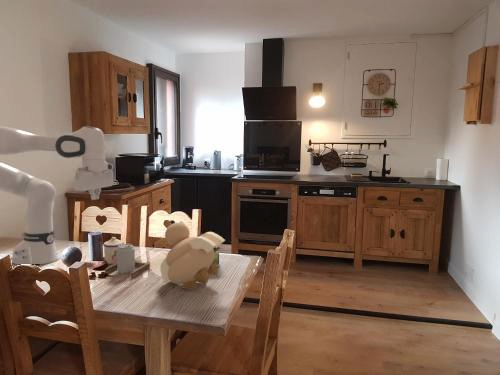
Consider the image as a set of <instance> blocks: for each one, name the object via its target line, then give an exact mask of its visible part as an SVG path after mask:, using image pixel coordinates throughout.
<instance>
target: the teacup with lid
mask: <svg viewBox="0 0 500 375" xmlns="http://www.w3.org/2000/svg"><path fill="white" fill-rule="evenodd" d="M121 244H125V242H124V241H123V240H120V239H117V238H116V237H115V236H112V237H111V239H108V240H107V241H105V242H103V246H104V247H103V250H104V257H103V258H104V261H105V260H106V261H107V262H108V263H107V264H109V265H114V264H116V263H117V249H118V246H119V245H121Z"/></svg>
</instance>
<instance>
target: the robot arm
mask: <svg viewBox="0 0 500 375" xmlns="http://www.w3.org/2000/svg"><path fill="white" fill-rule="evenodd" d="M105 143H106V142H105V135H104V132H103V131H102V130H101V129H100V128H98V127H93V126H88V125H86V126H85V125H84V126H82V127H81V128H80V129H78V130H76V131H73V132H71V133H67V134H63V135H62V136H50V135H41V134H40V135H39V134H35V133H31V132H27V131H25V130H20V129H17V128H14V127H9V126H2V125H0V155H6V156H7V155H18V154H23V153H28V152H38V151H42V152H43V151H45V152H57V154H58V155H59V156H60V157H63V158H66V159H75V158H81V162H82V163H81V167H78V168H77V169H76V170H75V175H74V180H73V190H74V191H75V192H87V191H88V193H89V194H90V199H91V201H96V200H99V199H100V194H101V192H102V188H109V187H112V186H113V185H114V172H113V169H114V164H112V163H109V162H107V161H106V157H105V151H106V150H105V149H106V144H105ZM0 191H3V192H6V193H9V194H12V195H14V196H16V197H19V198H22V199H25V200H27V208H26V213H25V230H26V232H23V233H22V234H21V237H23V240H22V241H20V242H19V243H18V244H16V246H14V247H13V249H12V255H11V256H10V257H11V260H12V263H11V264H15V265H19V264H34V265H33V266H36V265H35V264H40V265H47V264H50V263H53V262H55V261H57V260H59V256H58V255H59V254H58V252H57V248H56V242H55V236H56V235H55V233H56V232H55V230H54V224H53V223H54V220H53V217H54V216H53V215H54V214H53V212H54V207H55V198H56V197H57V189H56V188H55V186H54V185H53V184H52V183H51V182H49V181H48V180H44V179H42V178H39V177H36V176H33V175H31V174H29V173H27V172H24V171H22V170H21V169H17V168H16V167H13V166H11V165H8V164H6V163H3V162H1V161H0ZM19 266H20V265H19Z"/></svg>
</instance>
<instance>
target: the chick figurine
mask: <svg viewBox="0 0 500 375" xmlns="http://www.w3.org/2000/svg"><path fill="white" fill-rule="evenodd" d="M190 233H191V232H190V229H189V227H188V226H187V225H186V224H185V222H184V221H183V220H181V221H179V222H174V223H171V224H170V225H169V226H168V227H167V229H166V230H165V233H164V239H165V241H166V242H167V244H168V245H170V246H172V247H171V248H170V250H168V253H167V255H166V257H165V258H164V259H163V260H162V262H161V263H160V265H159V266H160V268H159V269H160V274H161V279H162V281H163V284H166V283H167V282H169V281H170V282H171V283H173V284H175V285H182V286H181V288H183V289H186V290H189V291H192V292H196V293H197V283H200V284H202V285H203V284H204V285H207V283H208V274H209V275H212V276H215V277H217V276H218V266H217V261H216V262H214V263H213V261H214V257H215V253H214V250H213V248H214V247H216V248H217V247H219V248H220V246H222V244H223V243H224V242H225V241H226V239H224V238H223V237H222V236H219V235H220V234H218V233H215V232H213V231H207V232H205V234H203V233H202V234H203V235H201V236H200V237H198V236H190ZM217 234H218V235H217ZM212 263H213V264H212Z"/></svg>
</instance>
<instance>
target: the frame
mask: <svg viewBox="0 0 500 375" xmlns="http://www.w3.org/2000/svg"><path fill="white" fill-rule="evenodd" d="M150 267H151V266H150V263H149V262H141V261H136V260H135V270H134V271H133V272H131V273H130V275H131V276H130V278H131V279H135V278H136V277H138V276H139V275H141V274H143V273H145V272H146V271H148V270H150V269H151V268H150ZM115 271H117V263H116V264H111V265H110V266H108V267H106V268H104V274H105V273H107V275H110V274H111V273H113V272H115Z"/></svg>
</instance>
